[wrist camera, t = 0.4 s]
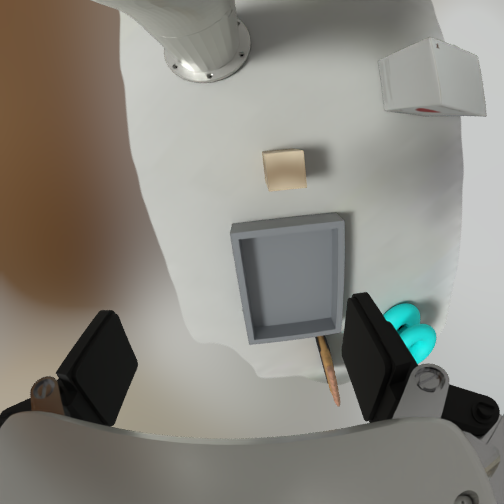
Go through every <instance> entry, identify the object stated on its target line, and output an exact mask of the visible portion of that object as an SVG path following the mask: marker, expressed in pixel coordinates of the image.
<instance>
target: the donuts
mask: <svg viewBox="0 0 504 504" xmlns="http://www.w3.org/2000/svg"><path fill="white" fill-rule="evenodd" d="M383 316H384V318H385V319H386V321H389V322H391V323H392V324H393V326H394V328H395V329H396V331H397V332H398V334H399V335H400V337H401V338H402V340H403V341H404V343H405V345H406V346H407V348H408V349H409V351H410V352H411V354H412V356H413V357H414V359H415V361H416V362H417V364H419V363H420V362H422V361H423V360H424V359H425V358H426V357H427V356H428V355H429V354H430V353H431V351H432V350H433V348H434V346H435V343H436V333H435V330H434V329H433V328H432V327H431V326H430V325H427V324H420V313H419V310H418V309H417V308H416V307H415V306H414V305H412V304H408V303H403V304H399V305H396V306H394V307H393V308H391V309H390V310H388V311H387V312H386V313H385V314H384V315H383ZM404 324H405V325H404ZM402 325H404V326H403V327H402V328H401V329H399V330H397V329H398V328H399V327H400V326H402Z"/></svg>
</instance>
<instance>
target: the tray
mask: <svg viewBox="0 0 504 504" xmlns="http://www.w3.org/2000/svg"><path fill="white" fill-rule="evenodd" d="M230 236H231V243H232V249H233V255H234V261H235V267H236V273H237V279H238V284H239V290H240V296H241V302H242V307H243V313H244V319H245V324H246V330H247V335H248V341H249V345H252V344H262V343H271V342H280V341H288V340H296V339H303V338H310V337H317V336H323V335H329V334H335V333H341V326H342V312H343V294H344V264H345V221H344V220H343V219H342V218H341V217H340V216H339V215H338V214H337V213H336V212H335V213H325V214H315V215H305V216H296V217H287V218H278V219H269V220H261V221H252V222H244V223H236V224H232V227H231V232H230Z"/></svg>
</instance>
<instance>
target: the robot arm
mask: <svg viewBox="0 0 504 504" xmlns="http://www.w3.org/2000/svg"><path fill="white" fill-rule="evenodd" d="M92 1H95V2H97V3H100V4H103V5H106V6H109V7H112V8H115V9H118V10H120V11H122V12H124V13H126V14H127V15H129V16H130V17H131V18H133V19H134V20H135V21H136V22H137V23H139V24H140V25H141V26H142V27H143V28H144V29H145V30H146V31H147V32H148V33H149V34H150V35H151V36H152V37H153V38H155V39H156V40H157V41H158V42H159V43H160V44H161V45H162V46H163V47H164V57H165V61H166V63H167V65H168V67H169V68H170V69H171V70H172V71H173V72H174V73H175V74H176V75H178V76H179V77H181V78H182V79H185V80H187V81H190V82H196V83H209V82H215V81H218V80H221V79H224V78H226V77H228V76H230V75H231V74H233V73H234V72H236V71H237V70H238V69H239V68H240V67H241V66H242V65H243V63H244V62H245V60H246V59H247V57H248V54H249V51H250V46H251V45H250V43H251V40H250V34H249V32H248V29H247V28H246V26H245V25H244V24H243V22H242V21H240V20H239V19H238V18H237V15H236V7H235V0H92ZM238 25H239V26H238ZM240 55H244V56H243V57H240ZM177 66H178V68H177V69H175V67H177ZM210 76H212V78H209V77H210ZM342 357H343V360H344V363H345V366H346V368H347V371H348V374H349V377H350V380H351V382H352V385H353V388H354V391H355V394H356V397H357V399H358V403H359V406H360V409H361V411H362V415H363V418H364V420H365V421H369V422H370V423H367V424H362V425H357V426H352V427H347V428H341V429H335V430H329V431H323V432H315V433H308V434H300V435H291V436H280V437H267V438H245V439H244V438H241V439H215V438H191V437H178V436H168V435H158V434H151V433H143V432H136V431H130V430H125V429H119V428H114V427H111V426H113V425H114V424H115V421H116V419H117V416H118V413H119V411H120V408H121V406H122V403H123V401H124V398H125V396H126V393H127V391H128V389H129V386H130V384H131V381H132V379H133V377H134V374H135V372H136V370H137V367H138V362H137V359H136V357H135V354H134V352H133V350H132V348H131V345H130V343H129V341H128V338H127V336H126V334H125V331H124V329H123V326H122V324H121V321H120V319H119V316H118V315H117V314H115V312H114V311H112V310H101V311H99V313H98V314H97V315H96V316H95V318H94V319H93V321H92V322H91V323H90V324H89V326H88V327H87V329H86V330H85V331H84V333H83V334H82V335H81V337H80V338H79V340H78V341H77V343H76V344H75V345H74V347H73V348H72V350H71V351H70V352H69V354H68V355H67V357H66V358H65V360H64V361H63V363H62V364H61V366H60V367H59V369H58V370H57V372H56V374H57V376H58V377H59V379H58V380H56V379H55V378H54V377H51V376H46V377H43V378H41V379H39V380H37V381H36V383H34V385H33V386H32V388H31V392H30V397H31V398H29V399H27V400H25V401H23V402H20V403H18V404H16V405H14V406H11V407H9V408H7V409H6V410H4V411H2V413H1V415H0V504H504V415H503V416H501V415H500V414H499V411H500V410H499V407H498V405H497V403H496V402H495V401H494V400H493V399H492V398H490V397H488V396H485V395H482V394H478V393H475V392H472V391H468V390H465V389H462V388H459V387H456V386H453V385H450V384H449V377H448V374H447V373H446V372H445V370H444V369H442V368H441V367H439V366H437V365H435V364H422V365H419V366H418V364H417V362H416V361H415V359H414V357H413V356H412V354H411V352H410V351H409V349H408V348H407V346H406V345H405V343H404V341H403V340H402V338H401V337H400V335H399V334H398V332H397V331H396V329H395V328H394V326H393V324H392V323H391V322H389V321H386V319H385V318H384V316H383V315H382V313H381V312H380V310H379V309H378V307H377V306H376V304H375V303H374V301H373V300H372V298H371V297H370V295H369V294H368V293H367V292H364V293H356V294H353V295H352V298H349V299H348V301H347V311H346V320H345V329H344V336H343V344H342Z"/></svg>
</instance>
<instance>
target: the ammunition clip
mask: <svg viewBox="0 0 504 504" xmlns="http://www.w3.org/2000/svg"><path fill="white" fill-rule="evenodd" d="M315 338H316V342H317V346H318V350H319V353H320V357H321V361H322V365H323V368H324V372H325V375H326V379H327V383H328V384H329V388H330V391H331V393H332V395H333V398H334V401H335V403H336V404H337V406H340V397H339V392H338V386H337V381H336V376H335V371H334V366H333V363H332V358H331V354H330V349H329V346H328V343H327V340H326V337H325V335H323V336H317V337H315Z"/></svg>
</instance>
